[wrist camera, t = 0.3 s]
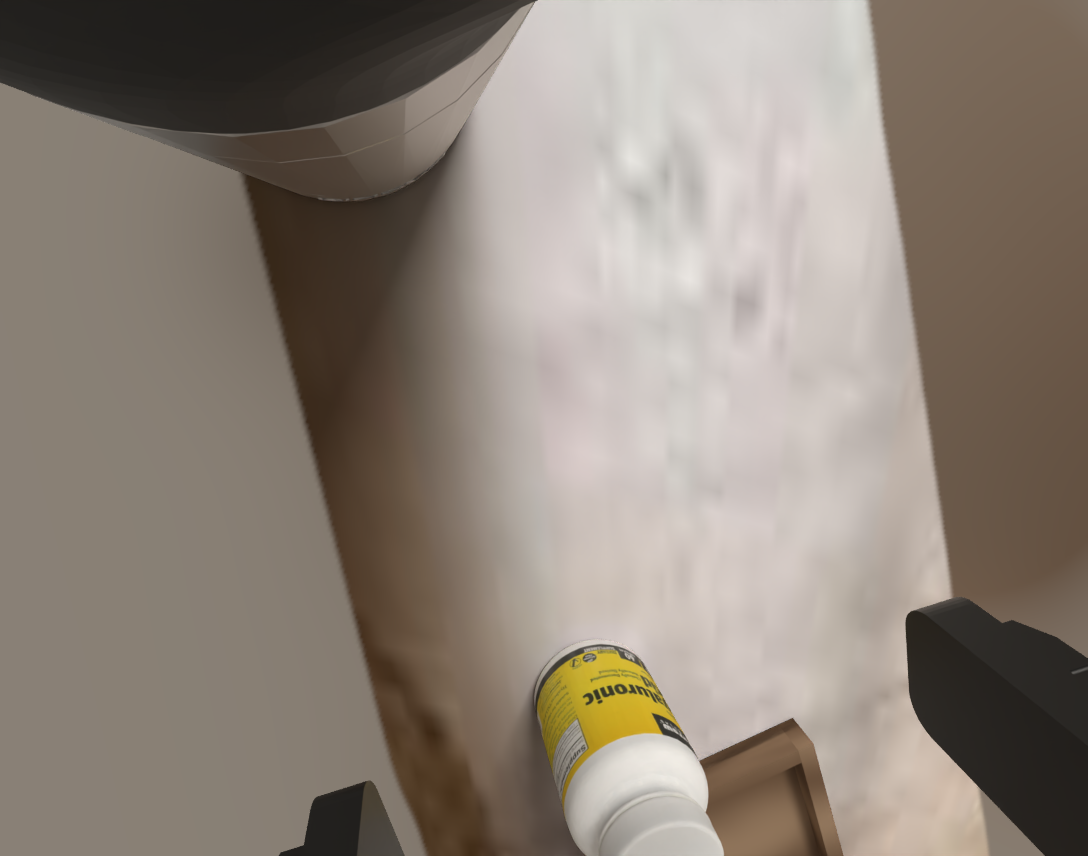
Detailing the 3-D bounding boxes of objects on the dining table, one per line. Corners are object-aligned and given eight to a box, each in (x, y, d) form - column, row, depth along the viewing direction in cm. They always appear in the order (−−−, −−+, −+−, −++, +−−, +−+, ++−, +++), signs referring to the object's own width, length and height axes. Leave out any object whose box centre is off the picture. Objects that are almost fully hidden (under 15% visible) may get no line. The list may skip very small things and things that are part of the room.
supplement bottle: (664, 649, 31) (773, 823, 22) (616, 745, 32) (702, 950, 23) (559, 620, 30) (630, 793, 21) (513, 722, 31) (561, 931, 22)
